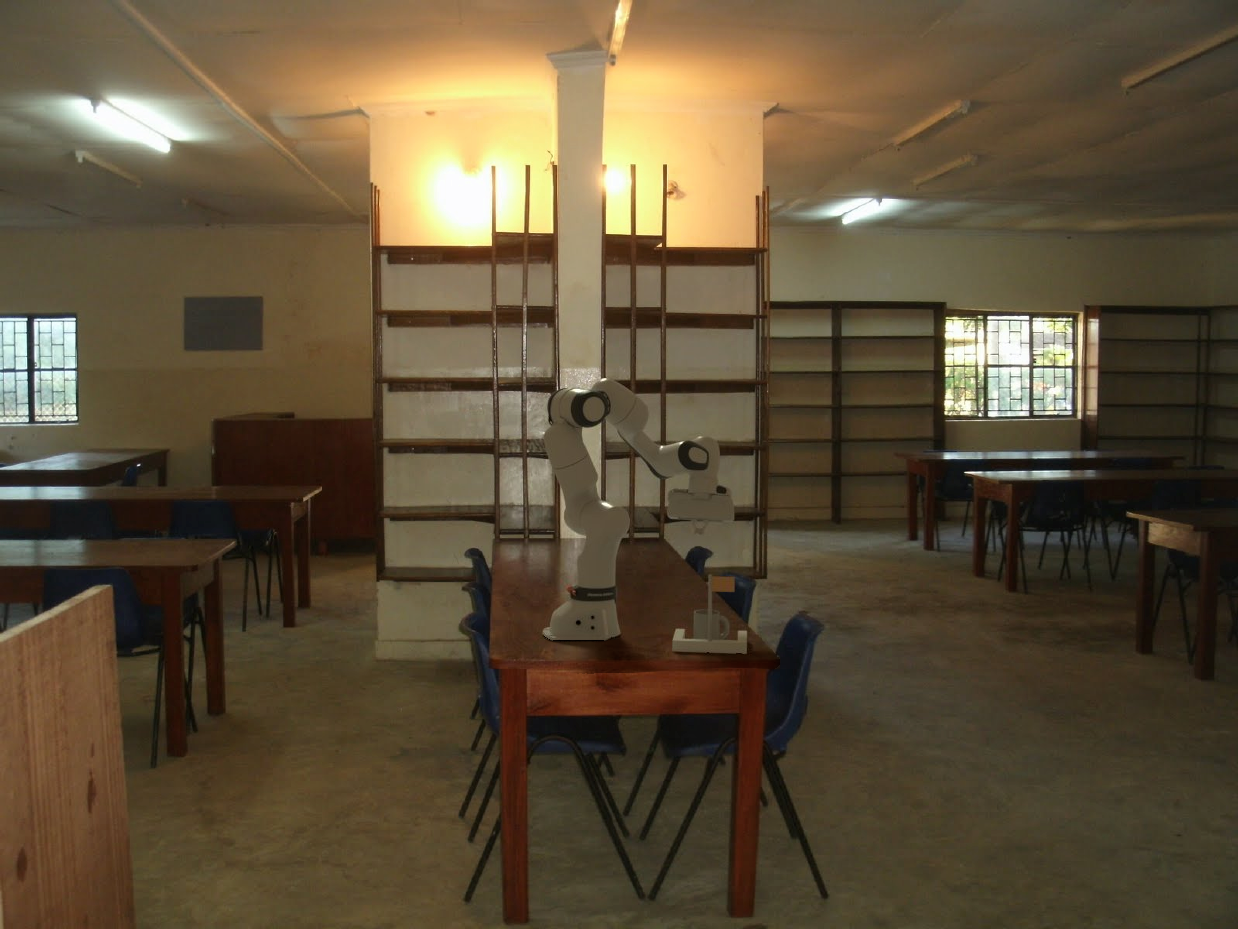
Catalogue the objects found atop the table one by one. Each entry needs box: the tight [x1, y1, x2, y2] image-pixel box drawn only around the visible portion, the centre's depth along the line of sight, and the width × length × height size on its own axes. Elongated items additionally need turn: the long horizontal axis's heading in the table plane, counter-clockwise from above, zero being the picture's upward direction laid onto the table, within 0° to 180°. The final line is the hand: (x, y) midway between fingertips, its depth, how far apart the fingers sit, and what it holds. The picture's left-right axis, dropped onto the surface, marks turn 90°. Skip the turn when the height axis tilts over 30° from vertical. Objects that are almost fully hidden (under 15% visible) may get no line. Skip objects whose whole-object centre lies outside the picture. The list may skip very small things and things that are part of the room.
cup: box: [693, 609, 730, 640], centre depth 301 cm, size 7×10×9 cm
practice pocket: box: [671, 574, 748, 655], centre depth 297 cm, size 14×20×21 cm
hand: (698, 534), depth 323 cm, fingers closed
